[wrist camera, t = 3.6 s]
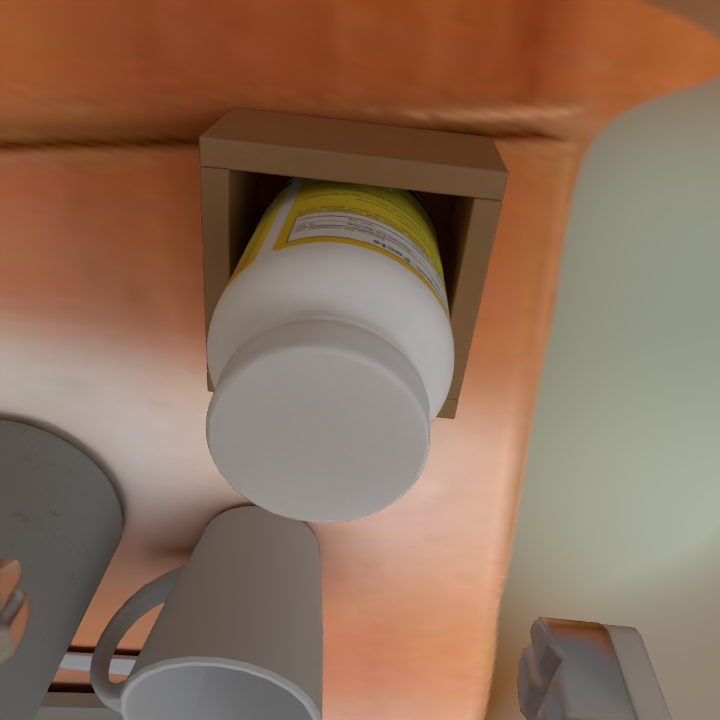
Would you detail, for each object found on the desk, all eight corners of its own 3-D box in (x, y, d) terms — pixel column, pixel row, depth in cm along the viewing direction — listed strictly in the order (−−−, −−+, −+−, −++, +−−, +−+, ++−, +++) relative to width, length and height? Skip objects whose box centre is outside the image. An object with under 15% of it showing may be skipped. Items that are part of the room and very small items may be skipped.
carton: (232, 106, 20) (198, 136, 17) (491, 136, 20) (509, 172, 17) (234, 332, 25) (207, 391, 21) (447, 356, 25) (454, 419, 21)
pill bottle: (321, 346, 25) (272, 579, 15) (228, 210, 22) (101, 394, 13) (468, 276, 23) (514, 495, 14) (386, 119, 20) (373, 256, 11)
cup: (353, 591, 32) (338, 772, 25) (166, 602, 34) (102, 777, 27) (323, 479, 29) (296, 656, 21) (114, 497, 30) (22, 669, 23)
